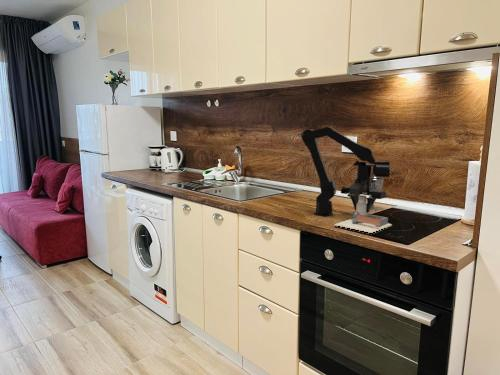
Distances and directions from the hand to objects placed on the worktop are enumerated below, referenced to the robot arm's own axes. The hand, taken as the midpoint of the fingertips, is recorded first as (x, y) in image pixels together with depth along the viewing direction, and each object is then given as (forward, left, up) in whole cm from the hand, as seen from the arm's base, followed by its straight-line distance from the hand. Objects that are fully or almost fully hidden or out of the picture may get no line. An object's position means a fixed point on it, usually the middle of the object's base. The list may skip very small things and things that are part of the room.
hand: (361, 211), depth 160 cm
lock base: (+7, -11, -3) cm, 14 cm away
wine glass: (-5, +20, -3) cm, 21 cm away
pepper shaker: (0, 0, -3) cm, 3 cm away
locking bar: (+9, -13, -2) cm, 15 cm away
